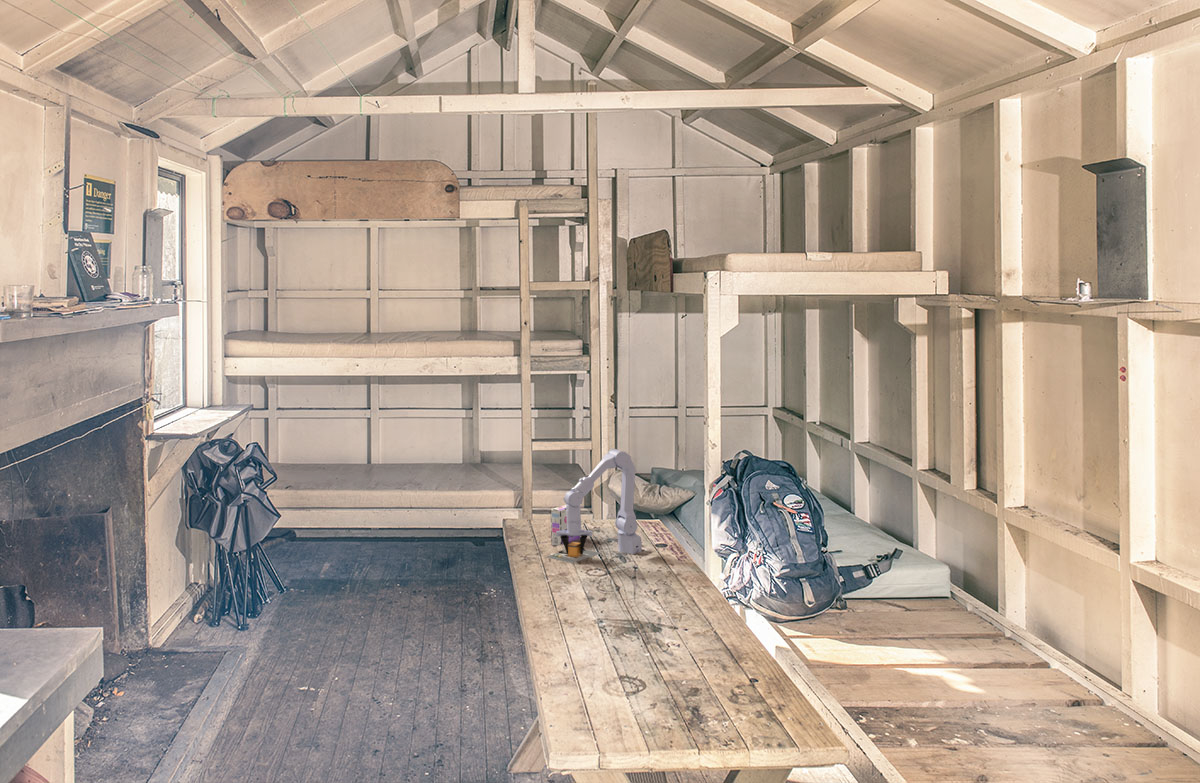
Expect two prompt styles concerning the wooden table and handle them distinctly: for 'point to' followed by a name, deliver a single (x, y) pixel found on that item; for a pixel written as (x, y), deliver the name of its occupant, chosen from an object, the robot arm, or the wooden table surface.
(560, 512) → the candy box
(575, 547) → the cap
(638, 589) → the wooden table surface
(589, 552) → the breaker panel
